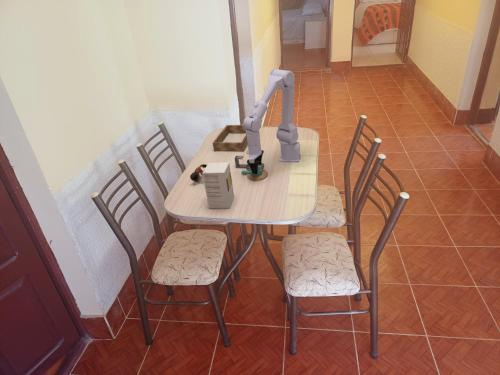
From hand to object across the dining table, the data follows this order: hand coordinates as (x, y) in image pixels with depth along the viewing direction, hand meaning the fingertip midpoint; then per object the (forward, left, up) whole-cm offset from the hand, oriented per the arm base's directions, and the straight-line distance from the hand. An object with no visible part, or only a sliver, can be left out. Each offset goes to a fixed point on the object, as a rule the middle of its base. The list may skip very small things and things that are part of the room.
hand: (256, 169), depth 166 cm
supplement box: (+10, +24, -3) cm, 26 cm away
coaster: (0, 0, -3) cm, 3 cm away
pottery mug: (+26, +6, -3) cm, 27 cm away
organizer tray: (+22, -38, -3) cm, 44 cm away
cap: (+3, 0, -2) cm, 4 cm away
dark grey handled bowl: (+6, -8, -3) cm, 10 cm away
